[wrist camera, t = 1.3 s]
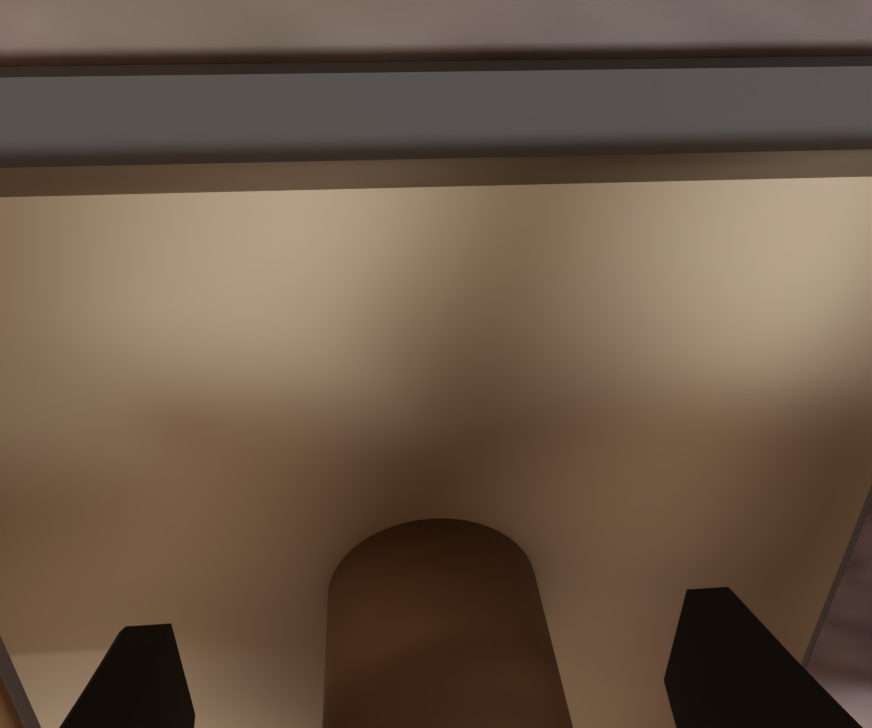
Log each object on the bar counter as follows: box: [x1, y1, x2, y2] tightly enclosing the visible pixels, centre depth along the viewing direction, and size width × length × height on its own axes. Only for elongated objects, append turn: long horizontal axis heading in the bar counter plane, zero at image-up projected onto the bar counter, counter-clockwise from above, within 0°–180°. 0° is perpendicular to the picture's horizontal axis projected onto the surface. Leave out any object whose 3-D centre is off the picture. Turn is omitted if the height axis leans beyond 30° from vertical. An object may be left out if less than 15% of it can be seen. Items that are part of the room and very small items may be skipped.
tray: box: [0, 56, 872, 728], centre depth 13 cm, size 15×15×1 cm
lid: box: [0, 149, 872, 728], centre depth 11 cm, size 13×13×5 cm
